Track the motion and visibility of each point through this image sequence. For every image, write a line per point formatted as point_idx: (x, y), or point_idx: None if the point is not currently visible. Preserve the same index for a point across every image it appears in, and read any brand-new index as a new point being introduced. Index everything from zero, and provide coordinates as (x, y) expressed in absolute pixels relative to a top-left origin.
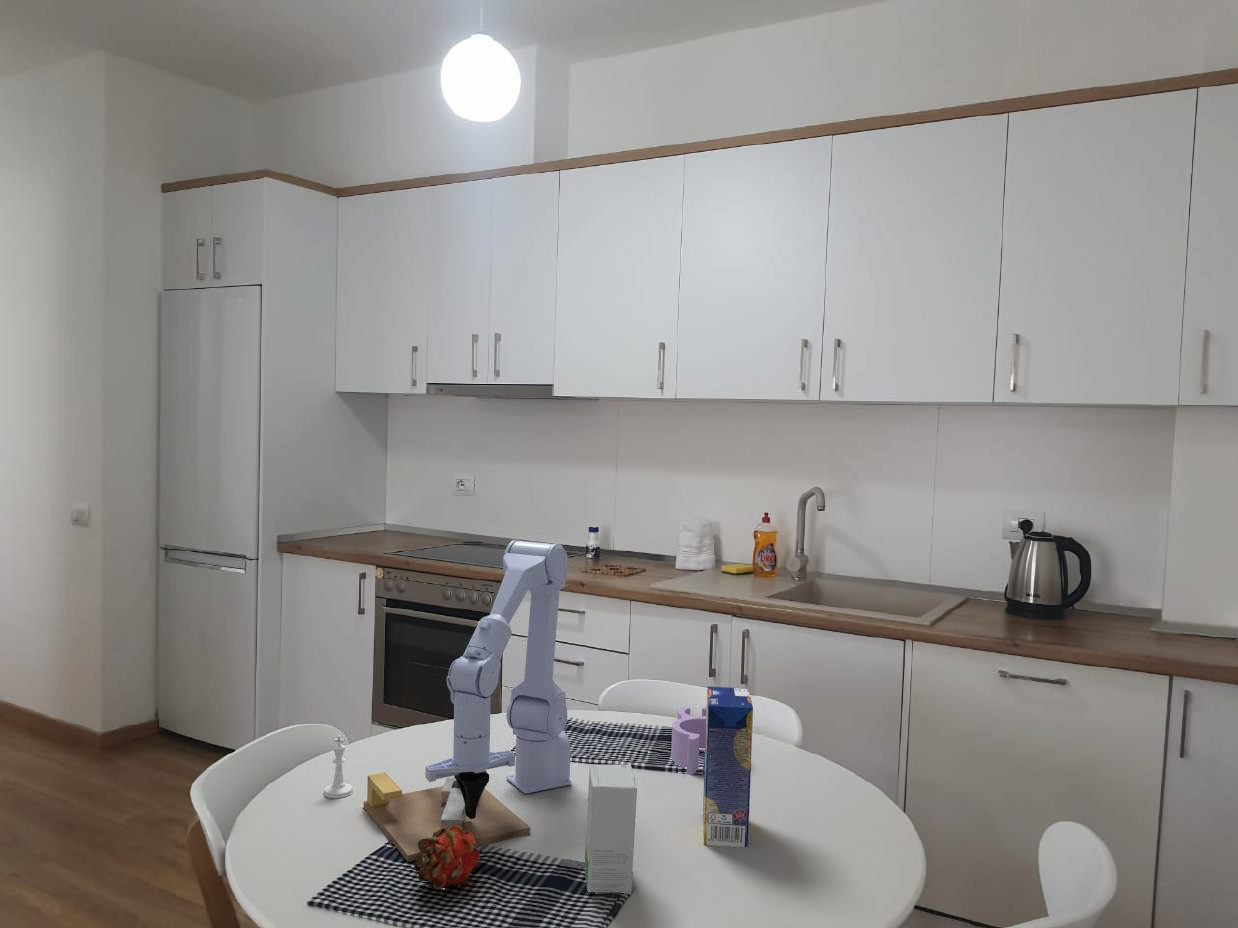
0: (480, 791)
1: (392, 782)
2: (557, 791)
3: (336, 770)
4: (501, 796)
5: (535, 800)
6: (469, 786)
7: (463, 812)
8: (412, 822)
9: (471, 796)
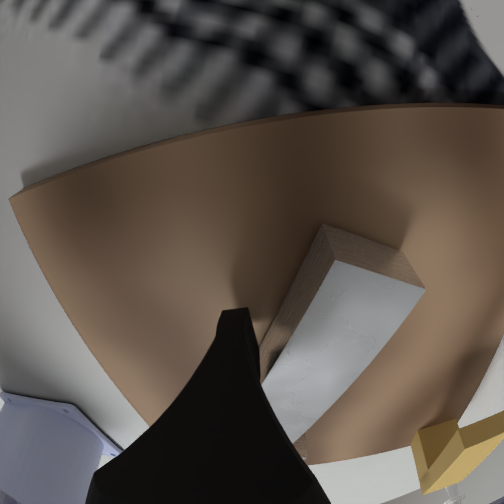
0: (173, 421)
1: (447, 471)
2: (15, 384)
3: (456, 484)
4: (129, 416)
5: (46, 374)
6: (272, 473)
7: (275, 349)
8: (436, 349)
9: (244, 400)
